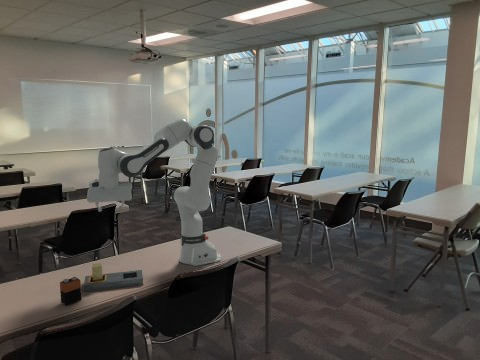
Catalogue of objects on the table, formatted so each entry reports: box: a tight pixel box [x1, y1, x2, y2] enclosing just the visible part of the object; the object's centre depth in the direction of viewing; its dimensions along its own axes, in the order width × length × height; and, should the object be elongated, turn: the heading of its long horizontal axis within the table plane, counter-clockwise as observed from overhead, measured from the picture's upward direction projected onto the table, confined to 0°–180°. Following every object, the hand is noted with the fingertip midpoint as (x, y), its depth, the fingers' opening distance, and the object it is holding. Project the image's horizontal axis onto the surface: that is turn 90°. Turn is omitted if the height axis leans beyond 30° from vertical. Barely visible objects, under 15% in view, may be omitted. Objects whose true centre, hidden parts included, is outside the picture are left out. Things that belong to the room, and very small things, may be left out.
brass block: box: [91, 262, 104, 282], centre depth 167 cm, size 4×4×9 cm
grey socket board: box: [83, 269, 144, 293], centre depth 170 cm, size 25×10×3 cm, turn 108°
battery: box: [59, 276, 83, 306], centre depth 152 cm, size 4×7×10 cm, turn 141°
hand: (110, 210), depth 178 cm, fingers open, 8 cm apart
